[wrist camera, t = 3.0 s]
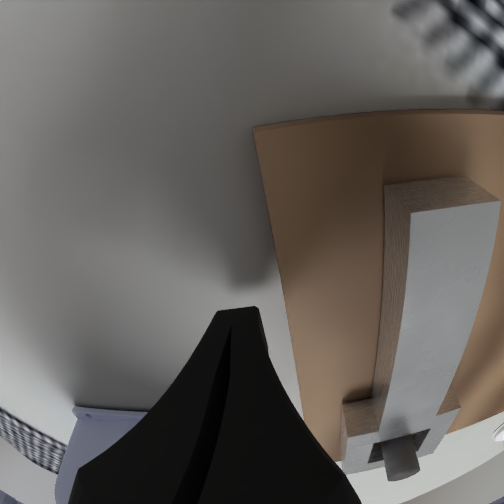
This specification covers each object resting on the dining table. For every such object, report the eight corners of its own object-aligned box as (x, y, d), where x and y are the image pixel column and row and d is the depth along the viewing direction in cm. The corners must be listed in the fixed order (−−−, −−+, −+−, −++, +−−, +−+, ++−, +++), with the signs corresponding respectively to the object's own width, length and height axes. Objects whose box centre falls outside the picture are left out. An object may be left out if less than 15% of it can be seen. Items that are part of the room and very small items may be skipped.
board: (309, 453, 20) (314, 513, 16) (253, 127, 9) (247, 176, 5) (528, 388, 18) (548, 431, 14) (614, 126, 7) (674, 160, 3)
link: (425, 428, 17) (432, 452, 15) (339, 448, 17) (343, 475, 16) (497, 173, 8) (533, 196, 7) (335, 191, 9) (352, 221, 7)
